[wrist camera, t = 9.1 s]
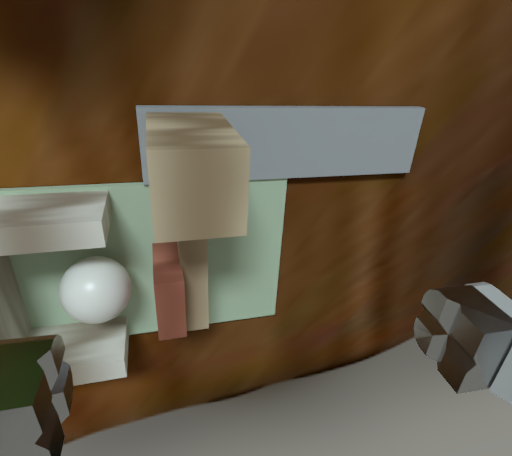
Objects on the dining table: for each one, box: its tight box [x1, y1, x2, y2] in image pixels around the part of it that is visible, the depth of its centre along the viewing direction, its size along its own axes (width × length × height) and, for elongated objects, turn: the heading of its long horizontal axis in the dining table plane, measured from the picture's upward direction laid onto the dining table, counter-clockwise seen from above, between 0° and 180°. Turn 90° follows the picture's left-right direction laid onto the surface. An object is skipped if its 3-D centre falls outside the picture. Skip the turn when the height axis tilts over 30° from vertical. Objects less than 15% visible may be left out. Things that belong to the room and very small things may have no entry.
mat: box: [0, 178, 287, 335], centre depth 25 cm, size 18×12×1 cm, turn 87°
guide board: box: [136, 105, 425, 185], centre depth 23 cm, size 18×4×1 cm, turn 87°
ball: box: [59, 256, 132, 324], centre depth 22 cm, size 4×4×4 cm
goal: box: [0, 190, 129, 386], centre depth 22 cm, size 8×11×4 cm
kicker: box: [146, 112, 251, 341], centre depth 20 cm, size 4×13×7 cm, turn 177°
